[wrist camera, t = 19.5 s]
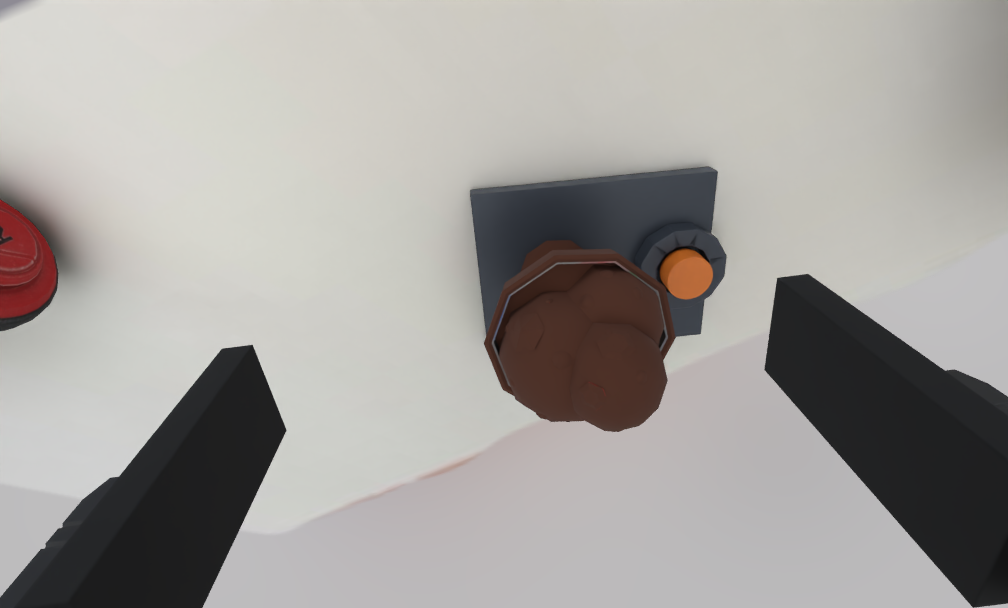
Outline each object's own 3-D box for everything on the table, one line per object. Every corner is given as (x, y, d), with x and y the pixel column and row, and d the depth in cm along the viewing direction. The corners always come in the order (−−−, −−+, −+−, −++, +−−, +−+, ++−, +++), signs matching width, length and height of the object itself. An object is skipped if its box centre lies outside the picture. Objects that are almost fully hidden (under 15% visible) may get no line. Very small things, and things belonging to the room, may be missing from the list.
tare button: (705, 245, 37) (715, 255, 35) (701, 286, 38) (711, 297, 37) (660, 250, 37) (668, 259, 35) (657, 291, 38) (665, 301, 37)
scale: (717, 165, 37) (736, 175, 34) (700, 325, 43) (716, 344, 40) (470, 189, 37) (470, 201, 34) (488, 346, 43) (489, 366, 40)
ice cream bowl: (609, 179, 35) (693, 265, 22) (641, 315, 40) (724, 452, 27) (462, 228, 36) (458, 339, 23) (511, 355, 41) (530, 506, 28)
